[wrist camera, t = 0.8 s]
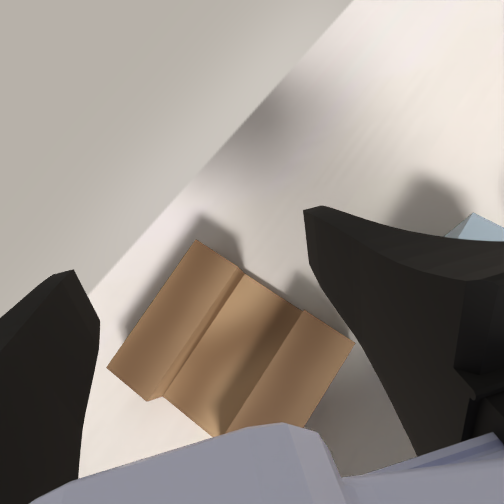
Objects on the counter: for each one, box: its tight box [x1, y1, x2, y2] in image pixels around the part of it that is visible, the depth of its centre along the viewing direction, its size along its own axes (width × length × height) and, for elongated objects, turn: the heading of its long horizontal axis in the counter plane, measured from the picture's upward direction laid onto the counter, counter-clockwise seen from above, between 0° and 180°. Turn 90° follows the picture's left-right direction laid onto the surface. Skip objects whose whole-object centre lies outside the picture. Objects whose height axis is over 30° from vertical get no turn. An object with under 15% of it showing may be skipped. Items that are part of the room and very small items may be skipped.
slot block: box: [106, 240, 355, 437], centre depth 24 cm, size 12×10×3 cm
